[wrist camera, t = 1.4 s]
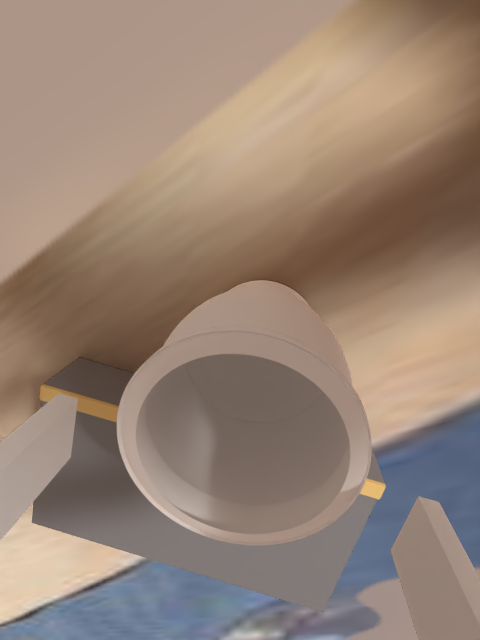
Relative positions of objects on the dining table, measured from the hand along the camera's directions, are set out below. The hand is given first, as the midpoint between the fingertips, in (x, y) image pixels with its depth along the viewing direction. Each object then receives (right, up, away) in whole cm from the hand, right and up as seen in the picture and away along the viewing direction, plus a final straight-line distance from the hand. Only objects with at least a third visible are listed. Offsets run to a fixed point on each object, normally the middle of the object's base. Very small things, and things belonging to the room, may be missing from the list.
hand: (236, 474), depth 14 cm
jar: (+2, +5, +15) cm, 16 cm away
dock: (-3, -7, +20) cm, 21 cm away
